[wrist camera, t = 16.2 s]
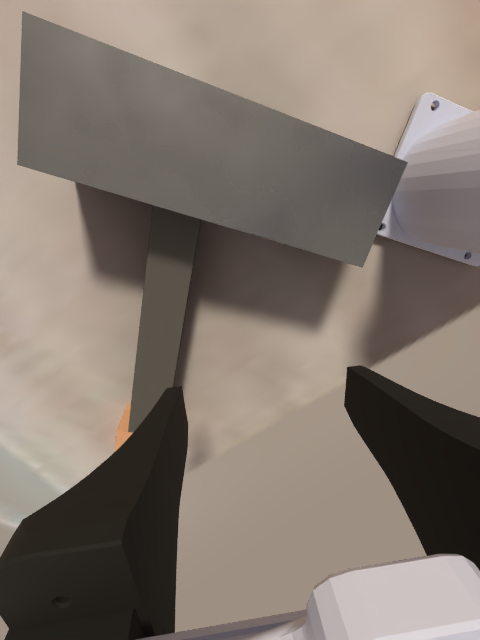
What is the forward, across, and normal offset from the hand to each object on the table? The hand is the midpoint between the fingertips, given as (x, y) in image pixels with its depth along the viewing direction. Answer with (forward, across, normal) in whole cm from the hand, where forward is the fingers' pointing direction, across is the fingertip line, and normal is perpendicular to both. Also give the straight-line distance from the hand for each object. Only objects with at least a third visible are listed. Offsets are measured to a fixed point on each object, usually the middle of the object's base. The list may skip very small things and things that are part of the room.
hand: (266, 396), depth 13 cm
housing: (+9, +1, -9) cm, 13 cm away
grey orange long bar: (+10, +6, +2) cm, 11 cm away
